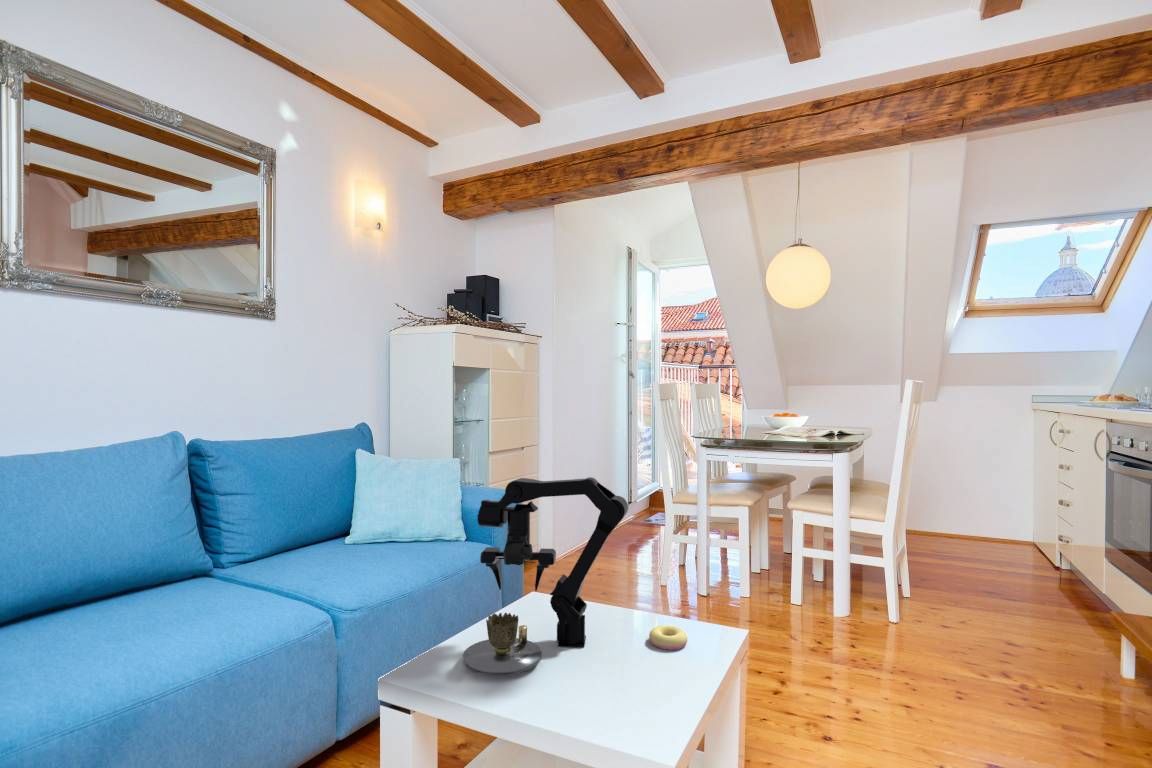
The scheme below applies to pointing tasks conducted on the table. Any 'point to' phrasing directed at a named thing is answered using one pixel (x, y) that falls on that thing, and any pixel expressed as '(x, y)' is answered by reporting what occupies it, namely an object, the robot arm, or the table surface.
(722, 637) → the table surface
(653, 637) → the donut
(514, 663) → the turntable
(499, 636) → the cup
